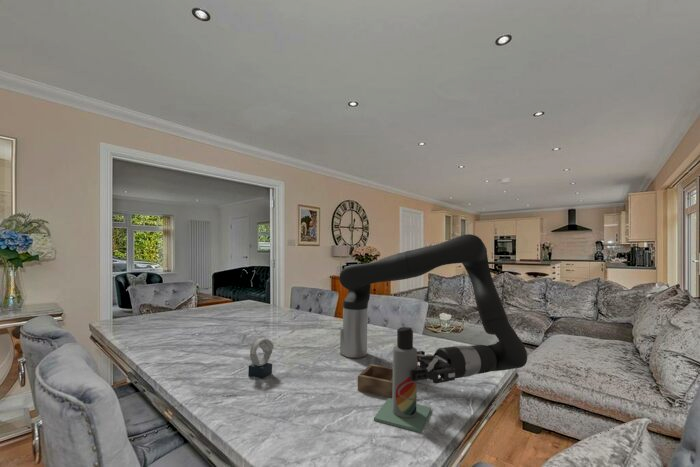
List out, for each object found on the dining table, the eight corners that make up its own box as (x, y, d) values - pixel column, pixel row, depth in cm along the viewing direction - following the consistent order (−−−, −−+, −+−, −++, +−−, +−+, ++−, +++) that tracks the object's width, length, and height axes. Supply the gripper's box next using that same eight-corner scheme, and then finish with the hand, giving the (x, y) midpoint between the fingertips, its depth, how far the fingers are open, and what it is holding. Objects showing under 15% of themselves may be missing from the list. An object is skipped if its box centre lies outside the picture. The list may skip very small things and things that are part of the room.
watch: (275, 371, 101) (276, 336, 101) (259, 381, 93) (260, 343, 94) (261, 368, 103) (262, 334, 104) (244, 377, 96) (245, 340, 96)
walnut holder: (357, 390, 89) (357, 375, 89) (370, 377, 98) (370, 364, 98) (392, 398, 85) (392, 382, 85) (402, 383, 94) (402, 369, 94)
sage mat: (373, 420, 74) (373, 417, 74) (388, 400, 84) (388, 397, 84) (421, 432, 69) (421, 430, 69) (431, 409, 79) (431, 407, 79)
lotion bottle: (416, 420, 73) (417, 331, 74) (391, 417, 74) (392, 330, 75) (416, 407, 78) (417, 325, 79) (393, 405, 80) (394, 324, 80)
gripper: (440, 339, 89) (388, 344, 83) (477, 356, 75) (417, 363, 70) (440, 366, 89) (387, 373, 83) (477, 388, 75) (417, 398, 70)
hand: (401, 368), depth 76 cm, fingers open, 8 cm apart
